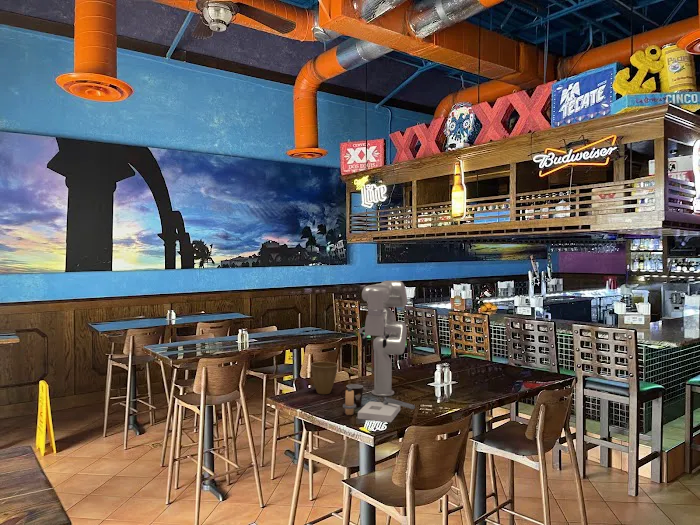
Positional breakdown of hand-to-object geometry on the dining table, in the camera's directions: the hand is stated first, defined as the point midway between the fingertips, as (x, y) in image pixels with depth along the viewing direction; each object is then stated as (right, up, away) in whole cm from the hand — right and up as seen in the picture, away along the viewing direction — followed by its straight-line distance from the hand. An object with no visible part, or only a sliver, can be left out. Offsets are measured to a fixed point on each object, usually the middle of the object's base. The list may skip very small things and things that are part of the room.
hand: (374, 346), depth 266 cm
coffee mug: (-12, -30, +1) cm, 33 cm away
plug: (-13, -30, -12) cm, 35 cm away
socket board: (+2, -30, -13) cm, 33 cm away
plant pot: (-27, -30, +26) cm, 48 cm away
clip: (+11, -27, -12) cm, 32 cm away
